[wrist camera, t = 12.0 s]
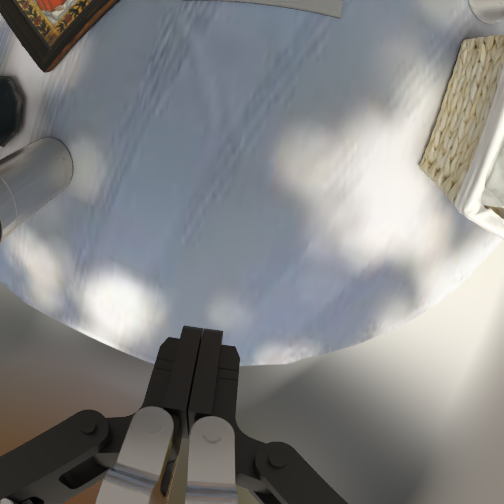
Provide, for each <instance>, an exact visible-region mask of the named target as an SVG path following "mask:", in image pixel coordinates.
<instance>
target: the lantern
mask: <svg viewBox="0 0 504 504" xmlns="http://www.w3.org/2000/svg"><path fill="white" fill-rule="evenodd" d="M21 106H22V99H21V97H20V95H19V93H18V91H17V88H16V86H15V84H14V82H13V80H12V78H11V77H5V76H0V146H2V147H4V146H5V145H6V144H7V143H8V142H9V140H10V139H11V138H12V137H13V136H14V135H15V133H16V132H17V131H18V130H19V126H20V115H21Z"/></svg>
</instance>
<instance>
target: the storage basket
mask: <svg viewBox="0 0 504 504" xmlns="http://www.w3.org/2000/svg"><path fill="white" fill-rule="evenodd" d="M419 166H420V169H421V170H422V171H423V172H424V173H425V174H427V176H428V177H430V178H431V179H432V181H434V182H435V183H436V184H437V185H438V186H439V187H440V188H441V189H442V190H443V191H444V193H445V194H446V196H448V198H449V199H450V200H451V201H452V203H454V204H455V206H456V208H457V210H458V211H459V212H460V213H461V214H463V215H464V216H465V217H466V218H468V219H469V220H471V221H473V222H475V223H476V224H478V225H479V226H481V227H482V228H484V229H486V230H488V231H490V232H491V233H493V234H495V235H497V236H499V237H501V238H503V239H504V35H501V36H500V35H495V36H493V35H488V36H487V37H478V38H471V39H465V40H464V41H463V42H462V44H461V48H460V52H459V54H458V59H457V62H456V64H455V66H454V70H453V75H452V78H451V79H450V81H449V84H448V87H447V92H446V94H445V96H444V99H443V102H442V106H441V111H440V113H439V115H438V119H437V123H436V125H435V128H434V129H433V132H432V135H431V139H430V141H429V144H428V146H427V148H426V150H425V154H424V156H423V159H422V161H421V163H420V165H419Z"/></svg>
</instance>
